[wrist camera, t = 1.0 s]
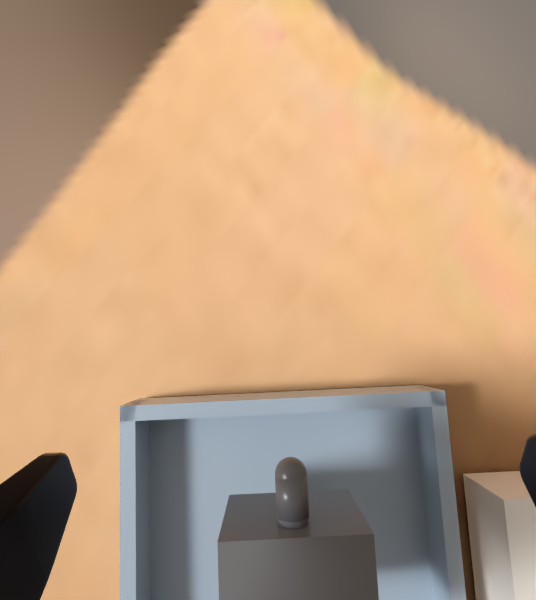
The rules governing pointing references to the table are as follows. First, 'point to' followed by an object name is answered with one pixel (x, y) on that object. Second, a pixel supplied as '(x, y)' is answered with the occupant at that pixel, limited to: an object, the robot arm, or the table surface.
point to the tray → (261, 479)
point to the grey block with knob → (296, 543)
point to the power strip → (501, 535)
